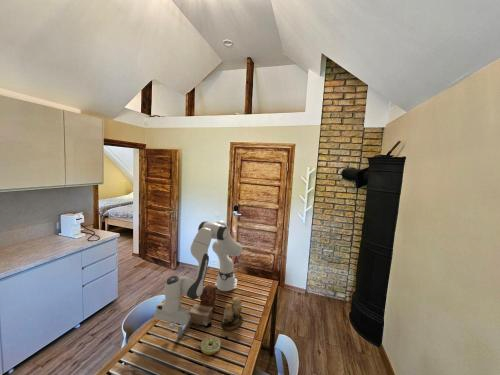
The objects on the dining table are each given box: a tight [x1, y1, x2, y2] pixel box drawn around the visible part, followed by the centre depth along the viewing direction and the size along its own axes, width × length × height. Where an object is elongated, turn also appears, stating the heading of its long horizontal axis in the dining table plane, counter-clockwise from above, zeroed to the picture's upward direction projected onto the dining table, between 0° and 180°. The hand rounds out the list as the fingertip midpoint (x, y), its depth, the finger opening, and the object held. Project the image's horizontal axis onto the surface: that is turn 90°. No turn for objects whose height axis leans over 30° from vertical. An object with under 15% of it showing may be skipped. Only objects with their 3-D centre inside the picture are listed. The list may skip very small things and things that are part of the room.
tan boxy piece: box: [185, 303, 214, 329], centre depth 142 cm, size 14×13×7 cm
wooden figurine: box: [199, 284, 217, 312], centre depth 153 cm, size 12×6×18 cm, turn 147°
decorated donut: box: [200, 336, 221, 356], centre depth 122 cm, size 10×11×4 cm
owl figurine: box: [220, 296, 244, 333], centre depth 143 cm, size 18×12×17 cm, turn 150°
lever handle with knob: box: [177, 315, 191, 340], centre depth 133 cm, size 12×3×7 cm, turn 168°
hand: (171, 327), depth 129 cm, fingers closed
